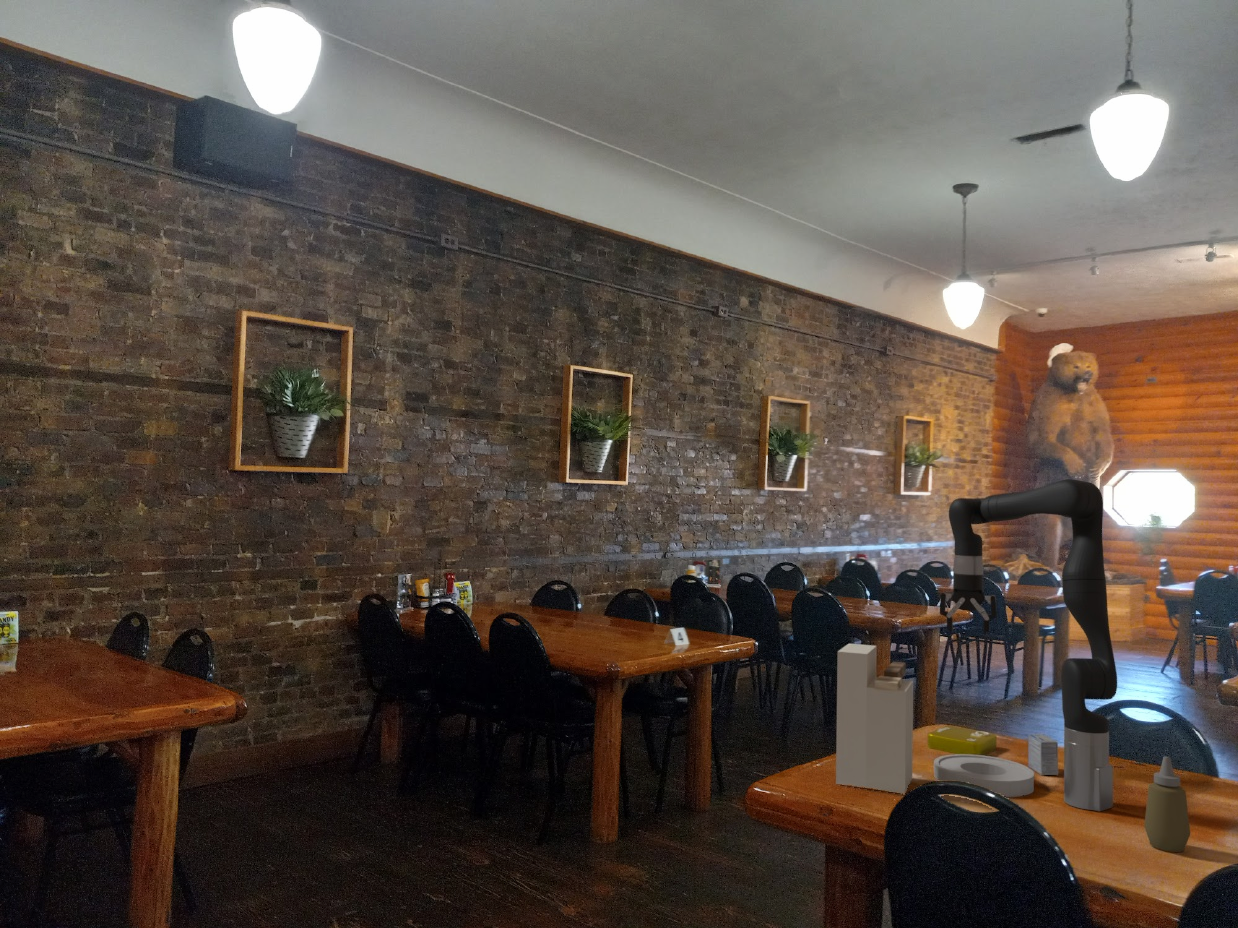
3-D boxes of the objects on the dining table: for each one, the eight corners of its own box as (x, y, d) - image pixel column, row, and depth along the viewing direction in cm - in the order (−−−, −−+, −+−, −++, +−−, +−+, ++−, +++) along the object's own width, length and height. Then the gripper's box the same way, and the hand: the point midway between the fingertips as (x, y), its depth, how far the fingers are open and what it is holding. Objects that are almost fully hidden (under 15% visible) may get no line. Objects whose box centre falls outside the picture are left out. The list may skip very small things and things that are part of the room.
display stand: (847, 768, 235) (848, 643, 237) (912, 777, 229) (913, 648, 230) (836, 784, 222) (837, 651, 223) (904, 794, 215) (906, 657, 216)
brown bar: (888, 672, 241) (889, 661, 241) (909, 674, 238) (909, 662, 239) (874, 688, 219) (874, 675, 219) (897, 690, 217) (897, 678, 217)
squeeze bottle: (1174, 840, 189) (1173, 751, 190) (1200, 855, 181) (1199, 762, 182) (1135, 839, 189) (1135, 751, 190) (1159, 854, 181) (1159, 762, 181)
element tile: (946, 739, 270) (947, 723, 270) (998, 749, 260) (998, 732, 260) (925, 748, 259) (925, 731, 259) (978, 759, 248) (978, 742, 249)
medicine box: (1058, 776, 233) (1058, 741, 234) (1040, 775, 233) (1040, 741, 234) (1044, 767, 241) (1044, 734, 241) (1027, 766, 241) (1027, 733, 242)
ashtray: (982, 766, 242) (982, 750, 242) (1056, 792, 221) (1056, 775, 221) (913, 774, 233) (913, 758, 233) (983, 802, 212) (983, 785, 212)
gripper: (997, 572, 248) (997, 633, 247) (941, 570, 253) (941, 629, 253) (996, 574, 241) (996, 636, 240) (939, 571, 247) (938, 632, 246)
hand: (967, 632), depth 246 cm, fingers open, 8 cm apart
